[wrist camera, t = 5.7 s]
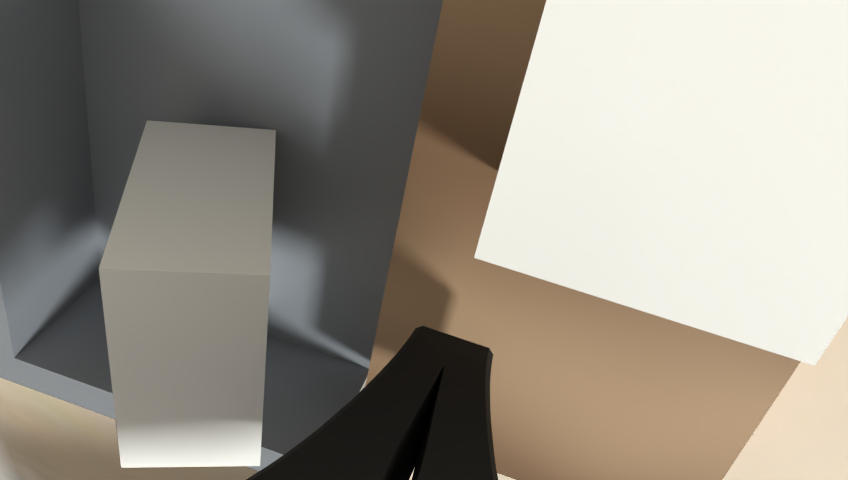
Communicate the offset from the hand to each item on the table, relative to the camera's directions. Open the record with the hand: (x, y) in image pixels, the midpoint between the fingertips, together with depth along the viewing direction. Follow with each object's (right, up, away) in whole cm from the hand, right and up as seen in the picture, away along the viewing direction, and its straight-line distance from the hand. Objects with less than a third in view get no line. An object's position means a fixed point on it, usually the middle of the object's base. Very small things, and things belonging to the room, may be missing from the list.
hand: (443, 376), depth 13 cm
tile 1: (+3, +5, -3) cm, 6 cm away
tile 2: (-3, +1, +1) cm, 4 cm away
